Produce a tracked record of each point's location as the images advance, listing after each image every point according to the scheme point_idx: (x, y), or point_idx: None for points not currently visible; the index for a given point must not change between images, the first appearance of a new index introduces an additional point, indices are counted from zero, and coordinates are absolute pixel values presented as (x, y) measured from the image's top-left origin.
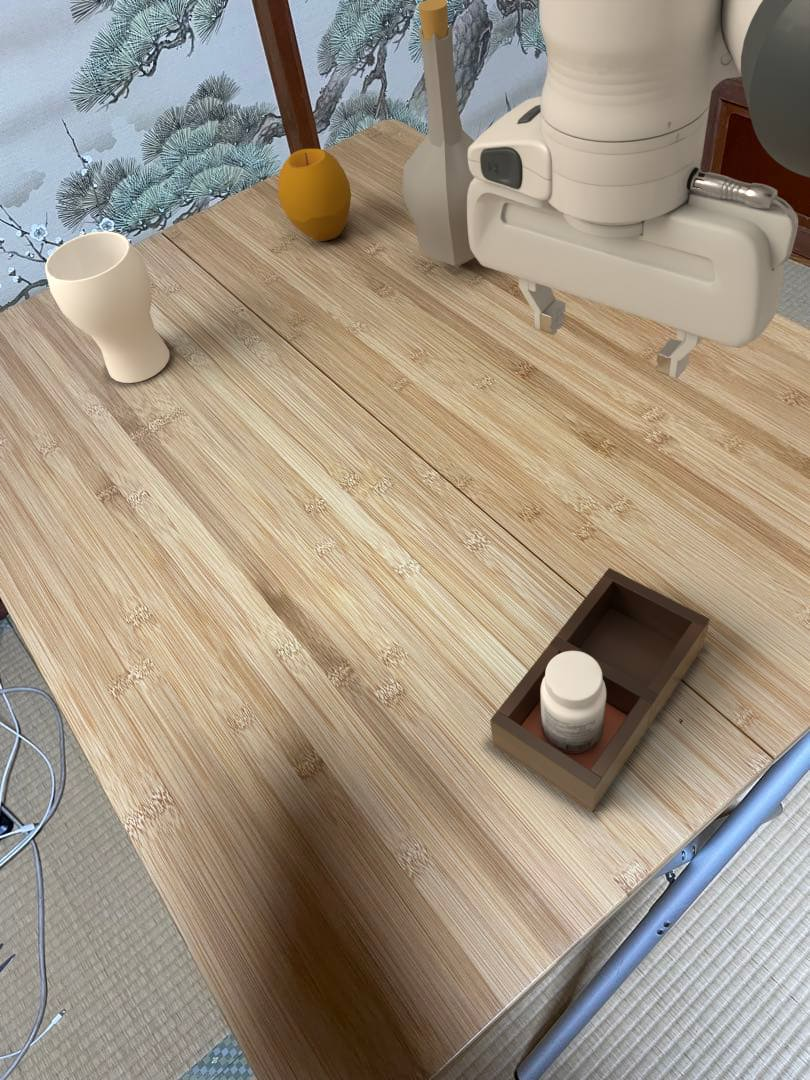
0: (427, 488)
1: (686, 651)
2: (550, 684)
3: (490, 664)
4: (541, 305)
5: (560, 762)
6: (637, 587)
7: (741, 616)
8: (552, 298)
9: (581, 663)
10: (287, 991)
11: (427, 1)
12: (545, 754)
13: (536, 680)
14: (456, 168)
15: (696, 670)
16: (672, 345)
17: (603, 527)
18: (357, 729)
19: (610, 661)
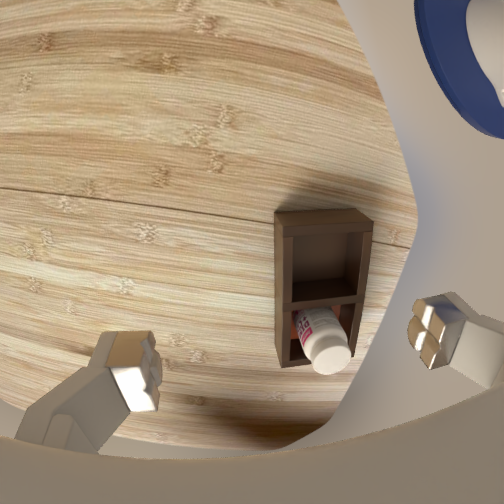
0: (72, 215)
1: (369, 256)
2: (322, 373)
3: (236, 308)
4: (117, 416)
5: None
6: (313, 229)
7: (367, 165)
8: (107, 380)
9: (334, 353)
10: (267, 440)
11: None
12: None
13: (290, 335)
14: None
15: None
16: (450, 337)
17: (227, 148)
18: (201, 378)
19: (309, 261)
